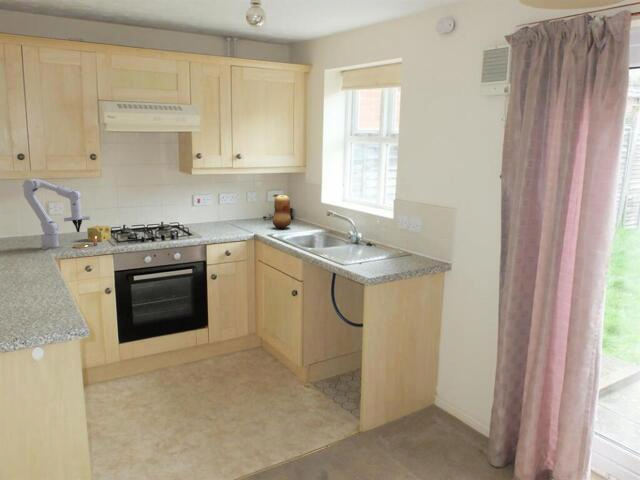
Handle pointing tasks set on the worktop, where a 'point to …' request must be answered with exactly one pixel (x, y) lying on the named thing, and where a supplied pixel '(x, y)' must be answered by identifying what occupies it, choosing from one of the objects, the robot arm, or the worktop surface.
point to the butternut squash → (282, 212)
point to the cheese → (99, 233)
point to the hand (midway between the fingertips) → (78, 231)
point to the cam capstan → (87, 244)
